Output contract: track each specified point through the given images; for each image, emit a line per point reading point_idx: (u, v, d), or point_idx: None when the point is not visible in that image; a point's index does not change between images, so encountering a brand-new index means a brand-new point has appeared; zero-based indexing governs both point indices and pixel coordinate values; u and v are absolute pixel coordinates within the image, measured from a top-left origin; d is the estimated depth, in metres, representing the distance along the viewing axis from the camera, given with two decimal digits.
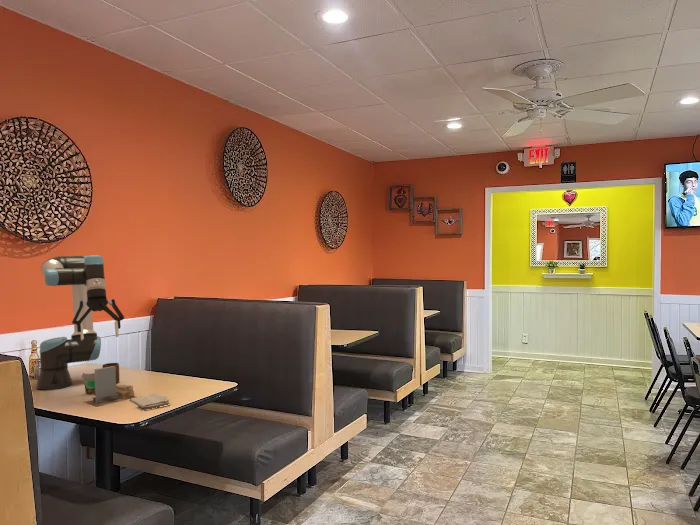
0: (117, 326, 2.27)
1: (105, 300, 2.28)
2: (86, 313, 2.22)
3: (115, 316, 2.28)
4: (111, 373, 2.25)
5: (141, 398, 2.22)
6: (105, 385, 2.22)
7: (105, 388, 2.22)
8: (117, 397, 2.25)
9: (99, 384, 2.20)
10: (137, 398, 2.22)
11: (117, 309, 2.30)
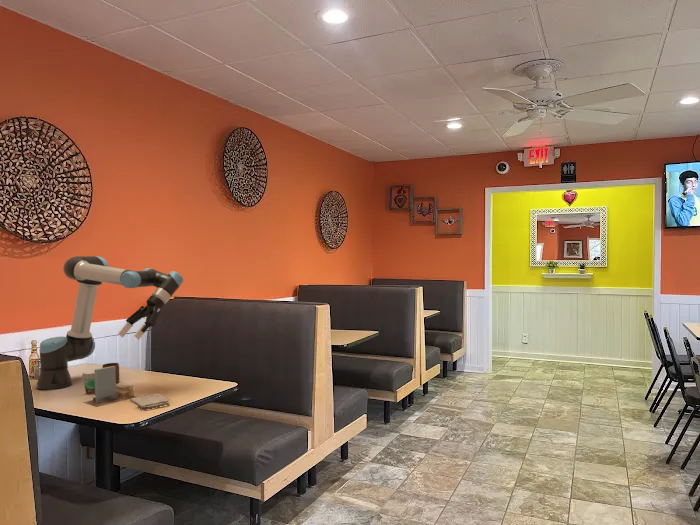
0: None
1: None
2: None
3: None
4: (111, 373, 2.25)
5: (141, 398, 2.22)
6: (105, 385, 2.22)
7: (105, 388, 2.22)
8: (117, 397, 2.25)
9: (99, 384, 2.20)
10: (137, 398, 2.22)
11: None
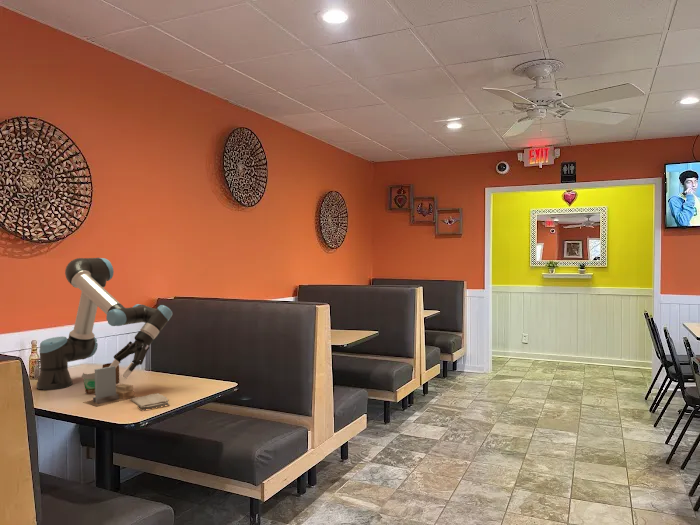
0: (115, 367, 2.33)
1: None
2: None
3: None
4: (111, 373, 2.25)
5: (141, 398, 2.22)
6: (105, 385, 2.22)
7: (105, 388, 2.22)
8: (117, 397, 2.25)
9: (99, 384, 2.20)
10: (137, 398, 2.22)
11: None
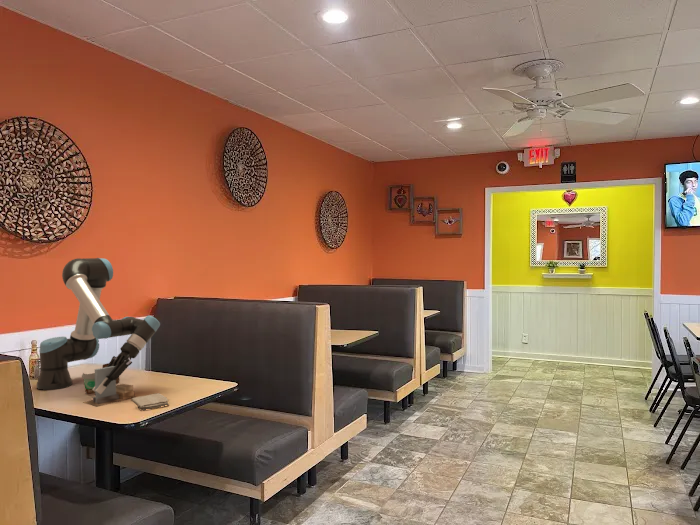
0: None
1: None
2: None
3: None
4: None
5: (142, 398, 2.22)
6: None
7: None
8: (117, 397, 2.25)
9: (99, 384, 2.20)
10: (138, 398, 2.22)
11: None
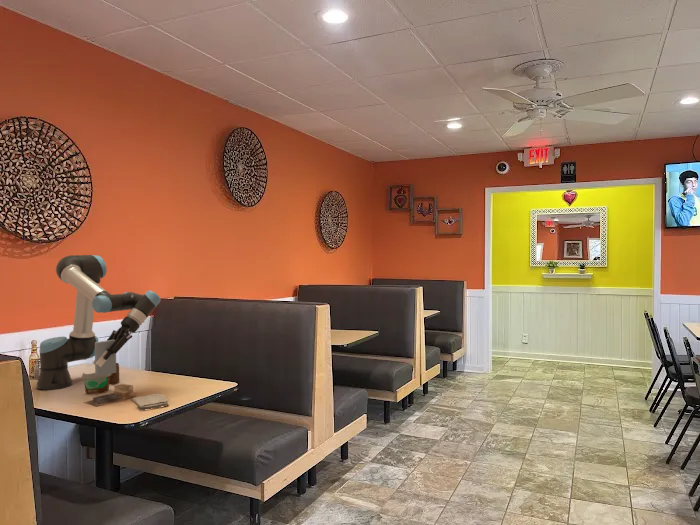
0: None
1: None
2: None
3: None
4: None
5: (142, 398, 2.22)
6: None
7: None
8: (117, 397, 2.25)
9: (99, 357, 2.20)
10: (138, 398, 2.22)
11: None
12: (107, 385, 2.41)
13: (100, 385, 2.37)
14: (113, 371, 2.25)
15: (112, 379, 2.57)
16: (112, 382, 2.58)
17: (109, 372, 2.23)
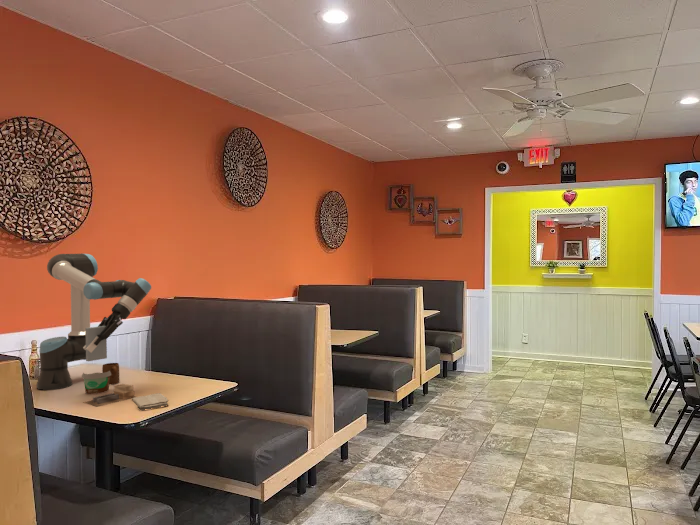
0: None
1: None
2: None
3: None
4: None
5: (142, 398, 2.22)
6: None
7: (96, 347, 2.25)
8: (117, 397, 2.25)
9: (89, 343, 2.23)
10: (138, 397, 2.22)
11: None
12: (107, 385, 2.41)
13: (100, 385, 2.37)
14: (104, 357, 2.28)
15: (112, 379, 2.57)
16: (112, 382, 2.58)
17: (100, 358, 2.26)
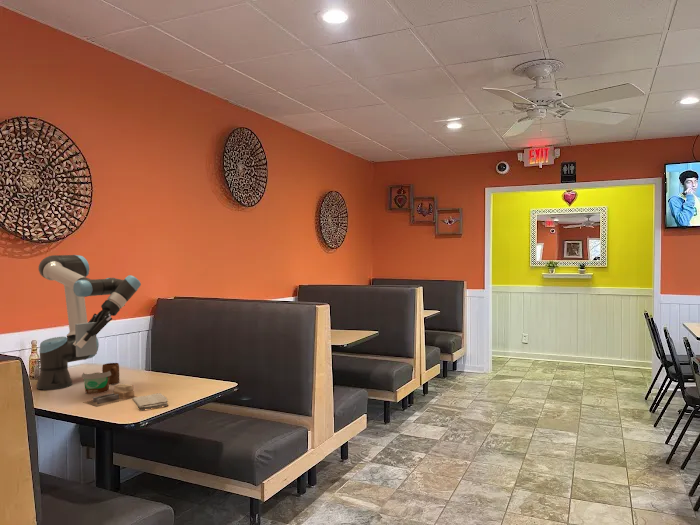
0: None
1: None
2: None
3: None
4: None
5: (142, 398, 2.22)
6: None
7: None
8: (117, 397, 2.25)
9: (79, 339, 2.27)
10: (139, 397, 2.22)
11: None
12: (107, 385, 2.41)
13: (100, 385, 2.37)
14: (94, 352, 2.31)
15: (112, 379, 2.57)
16: (112, 382, 2.58)
17: (90, 353, 2.30)
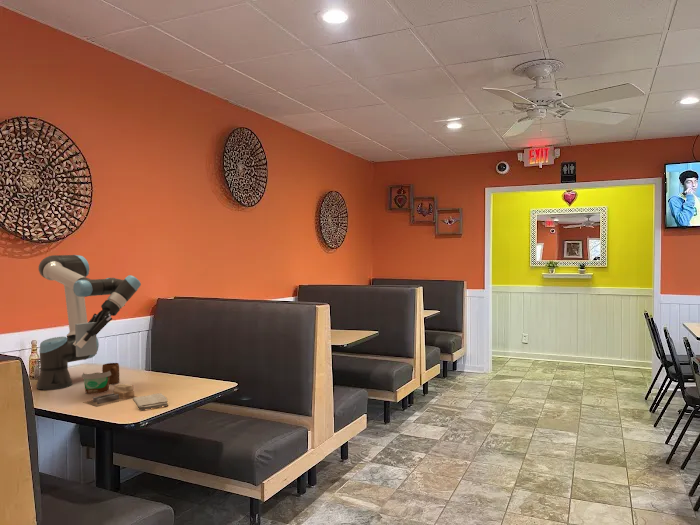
0: None
1: None
2: None
3: None
4: None
5: (143, 398, 2.22)
6: None
7: None
8: (117, 397, 2.25)
9: (79, 339, 2.27)
10: (139, 397, 2.23)
11: None
12: (107, 385, 2.41)
13: (100, 385, 2.37)
14: (94, 352, 2.31)
15: (112, 379, 2.57)
16: (112, 382, 2.58)
17: (90, 353, 2.30)
